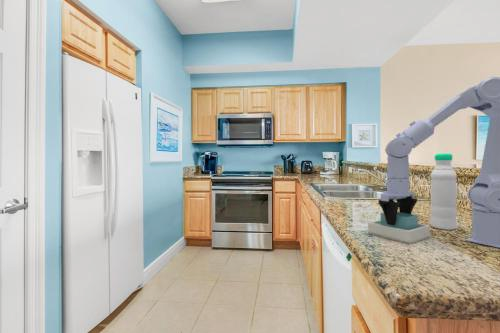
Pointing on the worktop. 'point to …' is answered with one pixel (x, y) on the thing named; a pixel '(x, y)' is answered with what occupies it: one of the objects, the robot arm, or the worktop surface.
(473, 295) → the worktop surface
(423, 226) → the white crate
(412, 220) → the teal crate
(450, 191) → the water bottle
